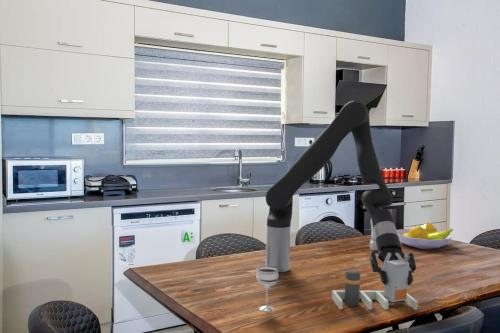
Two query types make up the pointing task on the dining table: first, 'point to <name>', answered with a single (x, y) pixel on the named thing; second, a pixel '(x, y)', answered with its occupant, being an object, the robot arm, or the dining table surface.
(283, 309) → the dining table surface
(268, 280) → the wineglass
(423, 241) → the fruit bowl
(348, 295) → the charcoal plug
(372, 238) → the plastic bottle
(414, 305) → the rack
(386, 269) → the skincare box
